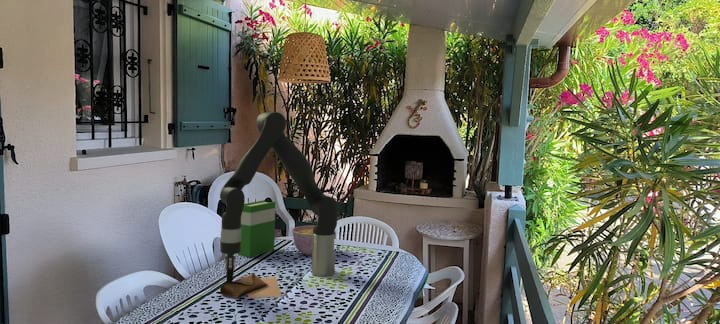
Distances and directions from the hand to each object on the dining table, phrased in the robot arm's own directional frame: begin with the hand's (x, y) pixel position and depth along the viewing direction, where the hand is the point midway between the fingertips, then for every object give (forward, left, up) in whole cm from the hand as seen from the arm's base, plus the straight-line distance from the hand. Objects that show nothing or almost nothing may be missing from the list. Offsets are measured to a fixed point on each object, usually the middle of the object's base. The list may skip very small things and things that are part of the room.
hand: (229, 284), depth 185 cm
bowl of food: (-39, -46, -2) cm, 60 cm away
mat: (-12, 0, -2) cm, 13 cm away
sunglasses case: (-6, +2, -2) cm, 6 cm away
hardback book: (-13, -51, -2) cm, 53 cm away
